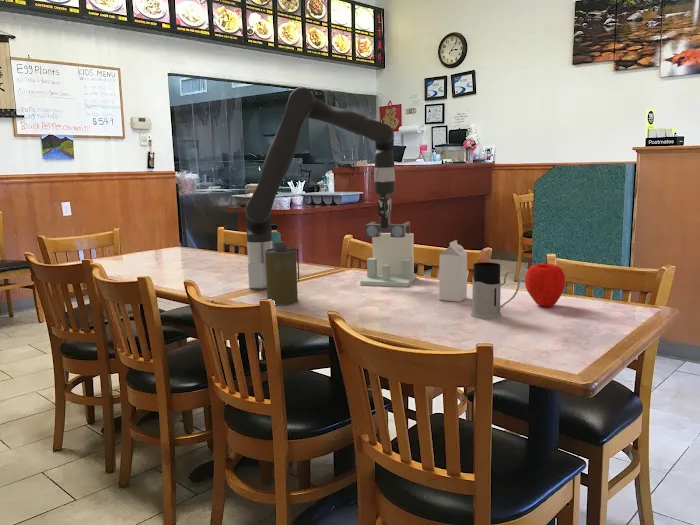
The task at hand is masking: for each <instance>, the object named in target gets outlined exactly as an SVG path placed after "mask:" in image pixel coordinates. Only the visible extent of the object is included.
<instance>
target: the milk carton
mask: <svg viewBox="0 0 700 525" xmlns="http://www.w3.org/2000/svg"><path fill="white" fill-rule="evenodd" d="M438 260H439V262H438V264H439V269H438V270H439V271H438V272H439V277H438V278H439V279H438V280H439V282H438V284H439V286H438V288H439V290H438V291H439V293H438V294H439V296H438V297H439V300H440V301H446V302H447V301H449V302H458V303H459V302H460V303H461V302H462V301H464V300H465V299H467V297H468V292H467V291H468V252H467V251H466V250H465V248H464V247H463V246H462V245H461V244H459V243H458V240H457V239H455V240H453V241H450V242H449V246H448V247H447V248H445V249H444V251H442V252H440V253H439V259H438Z"/></svg>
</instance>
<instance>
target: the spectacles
mask: <svg viewBox="0 0 700 525" xmlns="http://www.w3.org/2000/svg"><path fill="white" fill-rule="evenodd" d="M387 216H388V217H387V228H381V218H380V217H379V219H380V220H379V222H380V223H376V221H371V222H369V223H367V224H365V225H364V226H365V228H364V230H365V231H364V232H365V234H364V235H365V238H372V237H380V236H381V233H391V237H405V236H406V233H407V234H410V233H411V221H406V222H404V223H402V224H401V223H391V215H387Z"/></svg>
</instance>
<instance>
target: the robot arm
mask: <svg viewBox="0 0 700 525" xmlns="http://www.w3.org/2000/svg"><path fill="white" fill-rule="evenodd" d="M306 118H307V119H313V120H316V121H321V122H323V123H327V124H330V125H332V126H335V127H337V128H340V129H343V130H344V131H346V132H349V133H352V134H355V135H358V136H361V137H365V138H368V139H369V140H371V141H374V144H375V146H374V147H375V153H374V172H373V179H374V180H373V185H374V187H373V188H374V189H373V190H374V194H376V195H379V198H378V201H377V203H376V204H377V209H378V210H377V211H378V217H379V219H380V218H381V228H387V217H388V216H387V215H390V216H391V215H392V205H393V200H392V198H391V196H390V194H391V195H392V194H395V192H396V174H395V173H396V172H395V156H394V147H395V146H394V144H395V142H394V141H395V132H394V129H393V128H392V126H390V125H389V124H387V123H384V122H382V121H379V120H375V119H371V118H369V117H367V116H366V115H363V114H360V113H358V112H355V111H352V110H349V109H346V108H341V107H336V106H333V105H330V104H328V103H325V102H323V101H321V100H320V99H318V98H316V97H315V96H314V94H313V93H312V91H311V90H309V88H307V87H303V86H300V87H297V88H295V89H293V91H291V93H290V94H289V97H288V100H287V103H286V107H285V110H284V113H283V117H282V119H281V122H280V124H279V126H278V128H277V130H276V133H275V135H274V138H273V139H272V142H271V144H270V146H269V149H268V151H267V154H266V156H265V159H264V161H263V164H262V165H263V166H262V168H261V172H260V176H259V177H260V178H259V181H258V183H257V185H256V188H255V190H254V192H253V194H252V196H251V197H250V199H249V200H248V201H247V203H246V205H245V209H244V211H245V213H244V214H245V226H246V232H245V233H246V241H247V242H246V243H247V244H246V246H247V247H246V249H247V274H248V289H258V290H259V289H260V290H261V289H262V290H264V289H267V283H266V263H265V252H264V251H265V250H267V249H272V232H273V229H271V224H272V216H271V214H272V209H273V206H274V202H275V199H276V195H277V193H278V191H279V188H280V187H281V184H282V183H283V182H284V180H285V177H286V175H287V174H288V172H289V170H290V167H291V166H292V162H293V160H294V158H295V156H296V155H295V154H296V152H297V148H298V142H299V136H300V132H301V128H302V126H303V124H304V122H305V120H306Z"/></svg>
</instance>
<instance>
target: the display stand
mask: <svg viewBox="0 0 700 525" xmlns="http://www.w3.org/2000/svg"><path fill="white" fill-rule="evenodd" d="M380 233H381V236H380V237H371V238H372V239H371V242H372V246H371V248H372V257H369V258H367V259H366V276H365V277H364V278H363V279H361V280H360V281H359V284H360V286H371V287H375V286H376V287H377V286H378V287H379V286H380V287H401V288H402V287H403V288H405V287H406V288H408V287H410V285H411V284H412V283H413V282H414V281H415V280H416V279H417V273H414V272H415V271H414V269H415V268H414V266H415V263H414V261H415V260H414V256H415V255H414V250H415V249H414V248H415V247H414V246H415V245H414V239H415V238H414V233H411V232H410V234H407V232H406V236H405V237H391V232H380ZM415 278H416V279H415ZM414 279H415V280H414Z"/></svg>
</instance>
